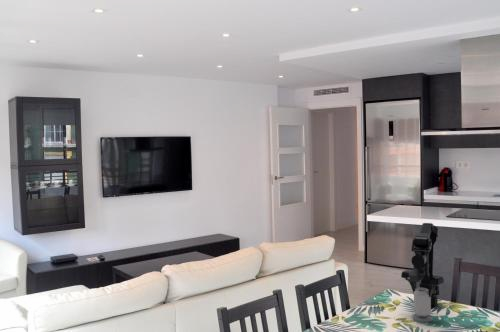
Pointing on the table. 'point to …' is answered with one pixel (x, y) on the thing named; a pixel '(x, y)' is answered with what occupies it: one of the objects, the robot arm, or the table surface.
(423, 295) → the can
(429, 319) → the coaster
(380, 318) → the table surface
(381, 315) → the table surface
